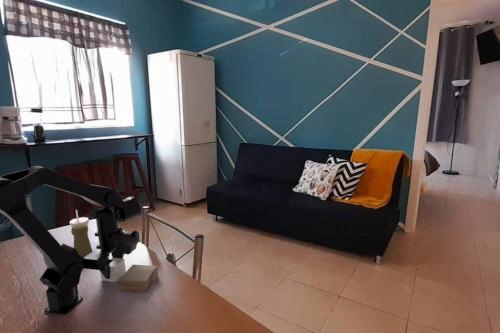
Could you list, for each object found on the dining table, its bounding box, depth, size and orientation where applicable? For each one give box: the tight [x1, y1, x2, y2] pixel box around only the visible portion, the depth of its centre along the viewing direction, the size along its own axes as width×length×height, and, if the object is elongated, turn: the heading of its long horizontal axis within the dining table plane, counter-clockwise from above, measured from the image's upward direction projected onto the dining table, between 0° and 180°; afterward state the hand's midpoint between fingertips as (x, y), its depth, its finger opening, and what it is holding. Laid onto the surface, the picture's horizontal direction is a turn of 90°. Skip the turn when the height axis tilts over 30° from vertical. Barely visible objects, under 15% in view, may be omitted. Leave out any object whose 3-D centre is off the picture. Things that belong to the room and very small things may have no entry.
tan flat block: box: [118, 264, 159, 294], centre depth 85 cm, size 8×8×4 cm
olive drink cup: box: [70, 224, 94, 257], centre depth 102 cm, size 6×6×11 cm
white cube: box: [99, 256, 127, 283], centre depth 89 cm, size 5×5×5 cm
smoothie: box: [69, 209, 90, 236], centre depth 109 cm, size 6×6×14 cm
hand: (113, 273), depth 89 cm, fingers closed on white cube, 5 cm apart
